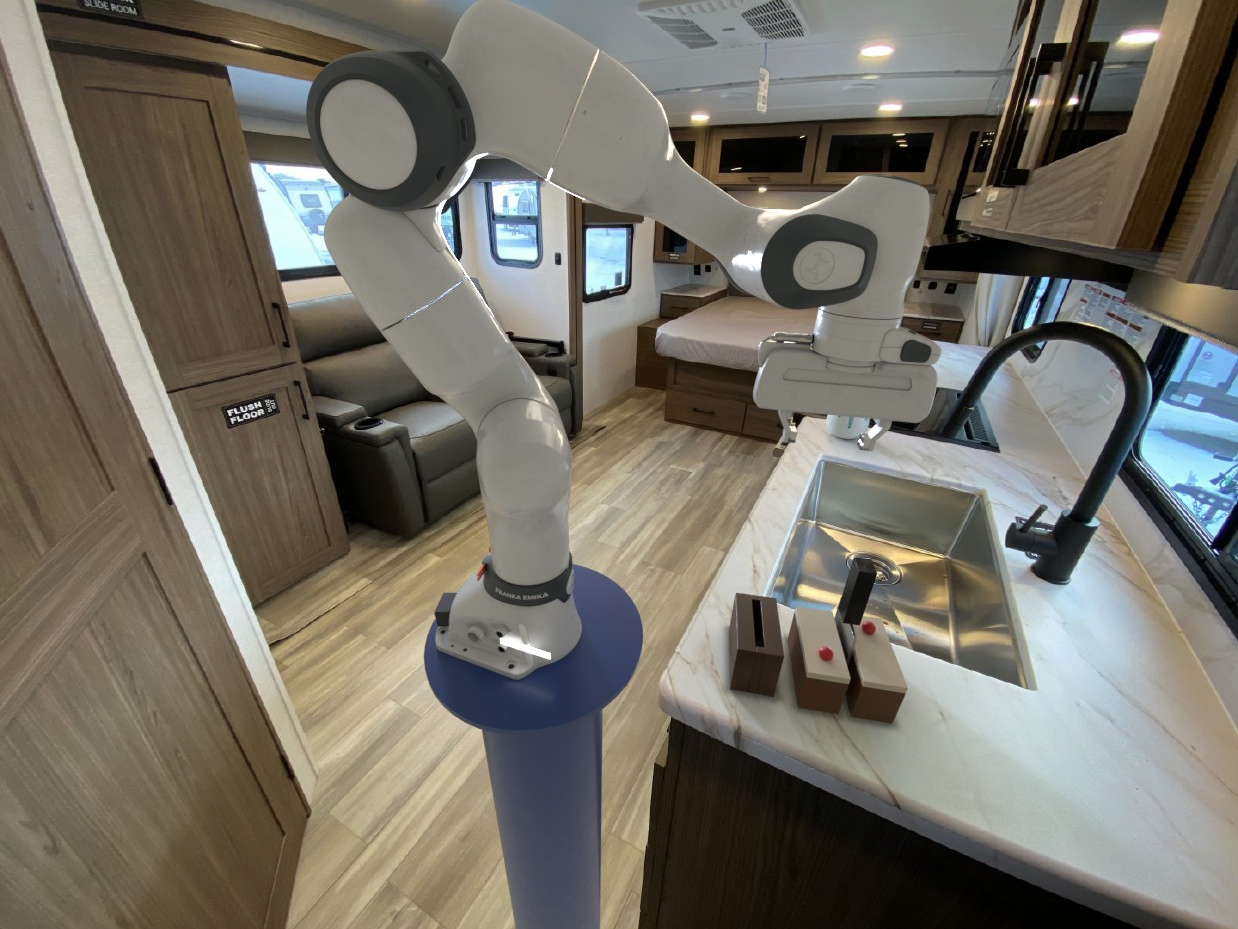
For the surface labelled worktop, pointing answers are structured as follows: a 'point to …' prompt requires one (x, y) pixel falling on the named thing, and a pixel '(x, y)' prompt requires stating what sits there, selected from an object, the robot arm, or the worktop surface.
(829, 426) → the vase
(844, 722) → the worktop surface
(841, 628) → the knife
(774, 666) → the knife block
